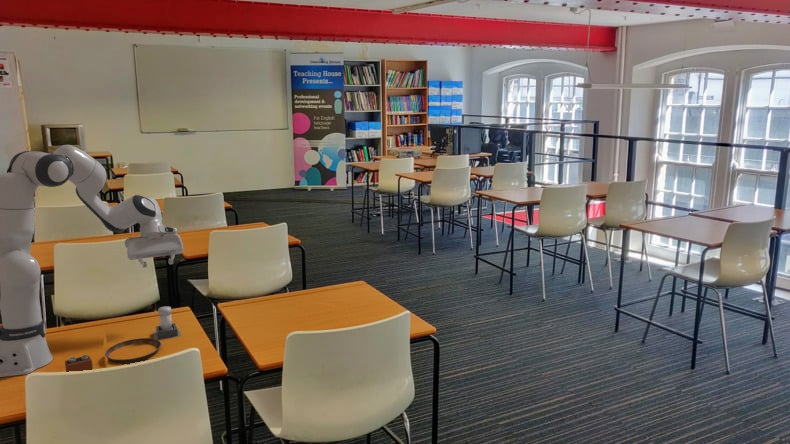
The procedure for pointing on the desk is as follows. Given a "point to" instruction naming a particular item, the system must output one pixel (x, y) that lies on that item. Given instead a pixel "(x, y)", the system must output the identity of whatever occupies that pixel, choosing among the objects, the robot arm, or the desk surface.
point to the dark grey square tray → (166, 333)
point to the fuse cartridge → (165, 318)
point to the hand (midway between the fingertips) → (158, 265)
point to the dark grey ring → (130, 342)
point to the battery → (79, 364)
